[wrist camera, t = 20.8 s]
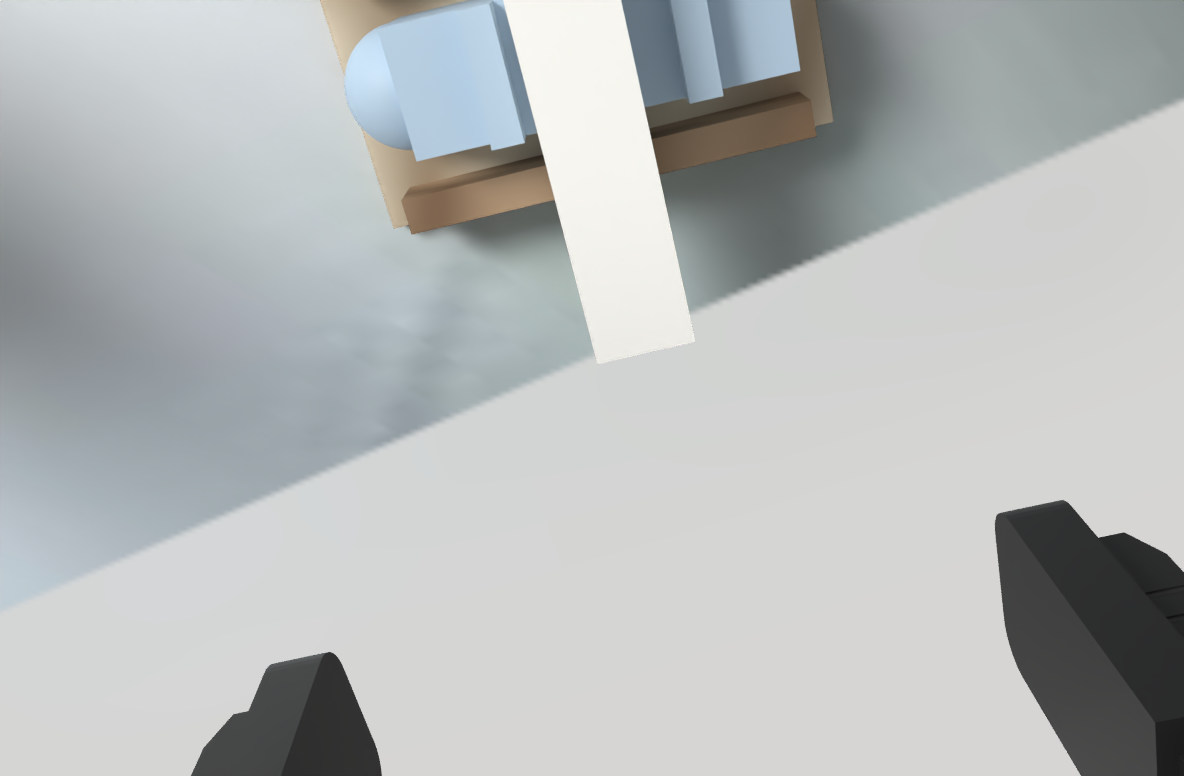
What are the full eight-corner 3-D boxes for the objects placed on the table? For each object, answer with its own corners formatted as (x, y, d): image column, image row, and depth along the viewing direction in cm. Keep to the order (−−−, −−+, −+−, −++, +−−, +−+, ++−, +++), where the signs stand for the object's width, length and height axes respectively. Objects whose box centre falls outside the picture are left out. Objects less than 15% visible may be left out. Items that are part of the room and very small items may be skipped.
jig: (398, 221, 39) (384, 244, 37) (310, -52, 36) (287, -51, 33) (827, 116, 38) (846, 132, 35) (783, -179, 34) (801, -187, 31)
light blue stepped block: (379, 148, 37) (347, 185, 32) (342, 31, 36) (302, 49, 30) (774, 53, 36) (808, 75, 31) (755, -72, 35) (787, -71, 29)
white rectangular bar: (595, 324, 35) (597, 364, 32) (457, -215, 29) (442, -232, 26) (684, 303, 35) (695, 341, 32) (565, -244, 29) (563, -265, 25)
